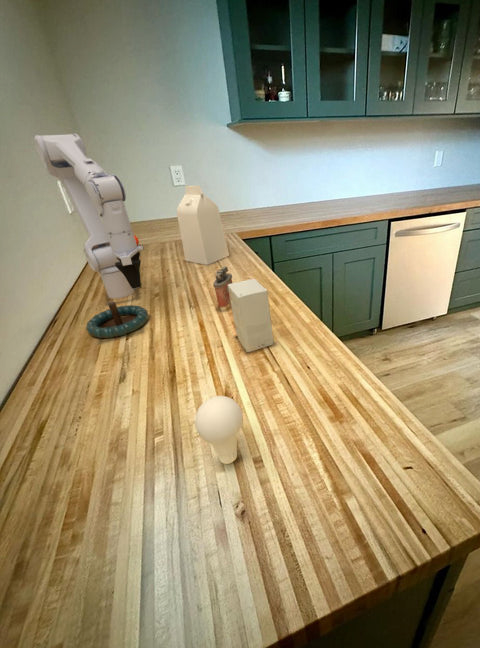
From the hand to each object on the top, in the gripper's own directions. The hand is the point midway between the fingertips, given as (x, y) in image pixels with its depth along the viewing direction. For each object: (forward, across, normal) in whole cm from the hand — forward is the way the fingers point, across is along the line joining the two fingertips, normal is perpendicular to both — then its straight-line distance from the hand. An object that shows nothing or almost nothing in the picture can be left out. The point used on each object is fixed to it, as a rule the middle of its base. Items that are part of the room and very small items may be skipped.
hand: (136, 283), depth 87 cm
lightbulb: (+9, -58, -9) cm, 59 cm away
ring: (+6, -7, +6) cm, 11 cm away
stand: (+8, -7, +6) cm, 12 cm away
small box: (+8, -29, -22) cm, 37 cm away
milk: (+8, +38, -24) cm, 46 cm away
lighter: (+9, -7, -21) cm, 24 cm away
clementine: (+9, +70, +3) cm, 71 cm away
